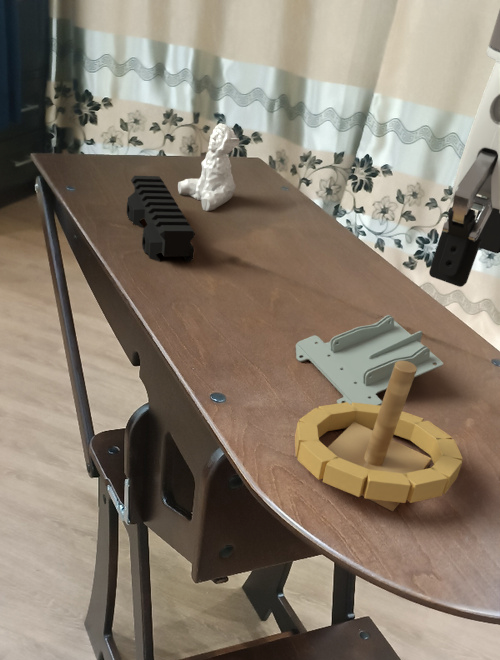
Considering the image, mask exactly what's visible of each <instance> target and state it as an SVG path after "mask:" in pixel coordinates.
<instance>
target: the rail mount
mask: <svg viewBox="0 0 500 660" xmlns="http://www.w3.org/2000/svg"><path fill="white" fill-rule="evenodd" d="M130 181H131V183H132V185H133V187H134V192H132V193H131V194H130V195H129V196H128V197H127V202H126V217H127V216H128V217H127V219H128V218H129V219H128V221H130V222H131V223H132V222H133V223H132V225H134V224H135V225H134V226H137V227H140V228H143V229H142V237H141V239H142V240H141V246H142V251H143V252H144V253H145V254H146V255H147V256H148V258H149V259H151V260H154V261H157V262H161V259H160V257H159V254H160V253H161V254H162V255H163V257H183V258H184V260H185V262H186V263H191V262H192V261H193V260H194V255H195V247H194V246H193V244H192V241H193V239H194V238H195V236H196V232H195V231H194V229H193V228H192V227H191V224H190V222H189V221H188V220H187V218H186V216H185V215H184V214H183V211H182V209H181V208H180V206H179V205H178V203H177V202H176V201H175V199H174V197H173V196H172V193H171V191H169V189H168V187H167V185H166V184H165V182H164V181H163V179H162V178H161V177H160V176H159V175H158V176H157V175H155V176H154V175H133V176H132V178H131V180H130ZM142 220H144V221H145V223H146V226H144V225H143V223H142V222H141V221H142Z"/></svg>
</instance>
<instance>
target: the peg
mask: <svg viewBox="0 0 500 660" xmlns="http://www.w3.org/2000/svg"><path fill="white" fill-rule="evenodd" d="M416 371H417V367H416V366H415V365H414V364H412V363H410V362H407V361H397V362H396V363H395V365H394V368H393V371H392V374H391V377H390V380H389V383H388V386H387V389H386V390H385V393H384V396H383V399H382V400H381V401H382V404H381V407H380V411H379V414H378V417H377V420H376V423H375V426H374V429H369V428H366V427H364V426H362V425H360V424H358V423H356V422H353V423H352V424H351V425H350V426H349V427H348V428H345V429H344V431H343V432H341V434H340V435H338V437H336V439H334V440H333V441H332V442H331V443H330V444H329V445H328V446H327V448H328V449H329V450H330V451H332V452H333V453H334V454H335V455H336V456H337V457H339V458H341V459H344V460H346V461H349V462H352V463H354V464H357V465H359V466H362V467H364V468H367V469H370V470H377V471H386V472H395V473H409V472H414V471H418V470H423V469H428V468H430V467H429V466H430V464H431V461H432V458H431V456H428V455H426V454H424V453H421V452H419V451H418V450H415V449H413V448H411V447H410V446H409V447H408V446H407V445H404V444H403V443H400V442H399V441H396V440H394V439H393V438H394V436H395V435H394V432H395V430H396V427H397V424H398V421H399V418H400V416H401V413H402V411H403V410H404V407H405V404H406V402H407V398H408V396H409V393H410V390H411V388H412V386H413V381H414V379H415V377H414V376H415V374H416ZM361 496H362V497H364V493H363V494H362V495H361ZM368 500H370V501H372V502H374V503H375V504H377V505H379V506H381V507H382V508H385V509H387V510H389V511H391V512H394V511H395V510H396V508H398V506H399V505H400V502H391V501H383V500H374V499H368Z"/></svg>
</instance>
